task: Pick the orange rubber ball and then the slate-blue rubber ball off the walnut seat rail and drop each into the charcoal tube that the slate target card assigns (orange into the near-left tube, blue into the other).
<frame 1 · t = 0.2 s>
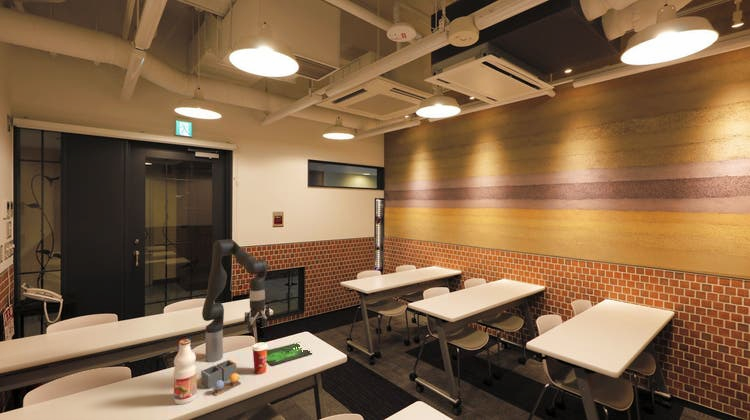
hand: (257, 328, 169), 28 cm above the table, fingers open, 8 cm apart
tube a: (226, 376, 175), on the table
target card: (225, 383, 168), on the table
tube b: (211, 383, 168), on the table
mouse mat: (286, 354, 202), on the table
fruit juice: (185, 399, 155), on the table
blue ball: (219, 385, 160), point 4 cm above the table, touching walnut seat rail
coffee cup: (260, 372, 180), on the table
orange ball: (234, 377, 166), point 4 cm above the table, touching walnut seat rail
walnut seat rail: (226, 388, 163), on the table
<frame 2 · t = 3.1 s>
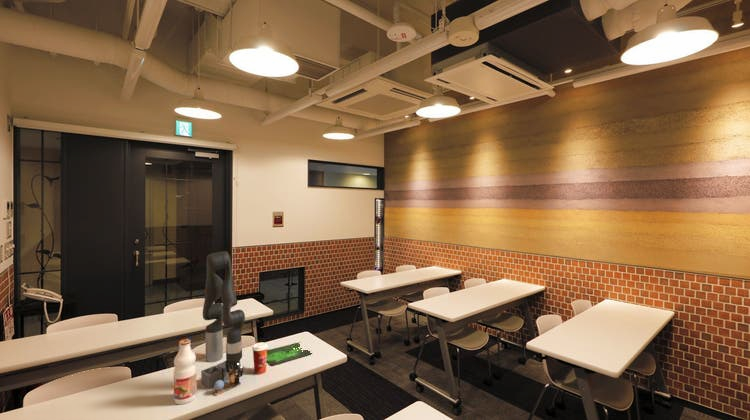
hand: (234, 382, 166), 1 cm above the table, fingers closed on orange ball, 4 cm apart
orange ball: (234, 377, 166), point 4 cm above the table, touching gripper, walnut seat rail
everything else where it was.
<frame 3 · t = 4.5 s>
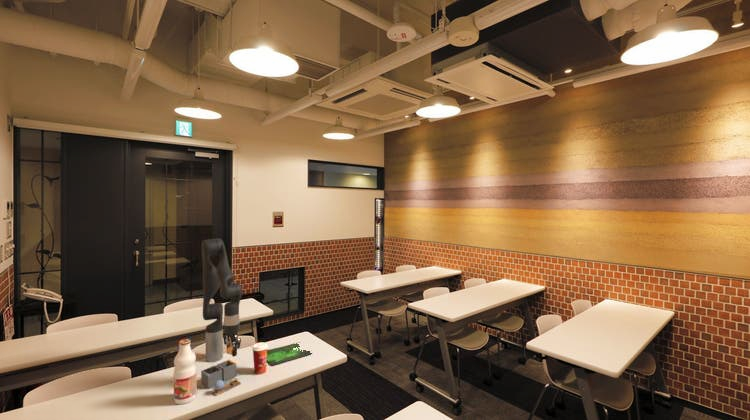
hand: (231, 354, 169), 15 cm above the table, fingers closed on orange ball, 4 cm apart
orange ball: (231, 349, 169), point 17 cm above the table, touching gripper
everything else where it was.
when the fingers open (8 cm above the table, at t = 6.0 s): orange ball drops 8 cm, resting on tube a.
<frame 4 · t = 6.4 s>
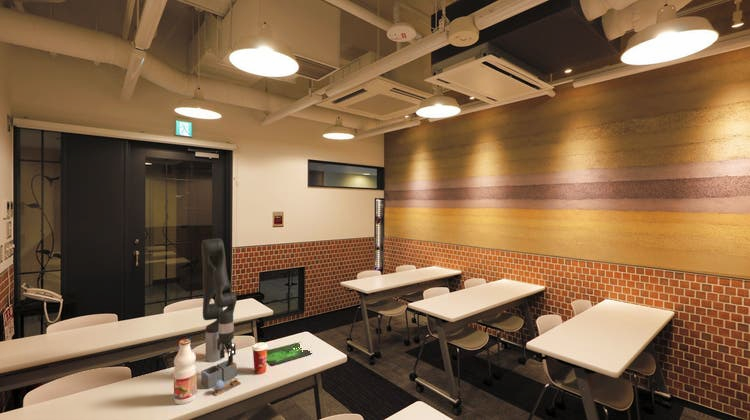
hand: (226, 360, 174), 9 cm above the table, fingers open, 8 cm apart
orange ball: (226, 372, 174), point 3 cm above the table, tilted 6°, touching tube a
everything else where it was.
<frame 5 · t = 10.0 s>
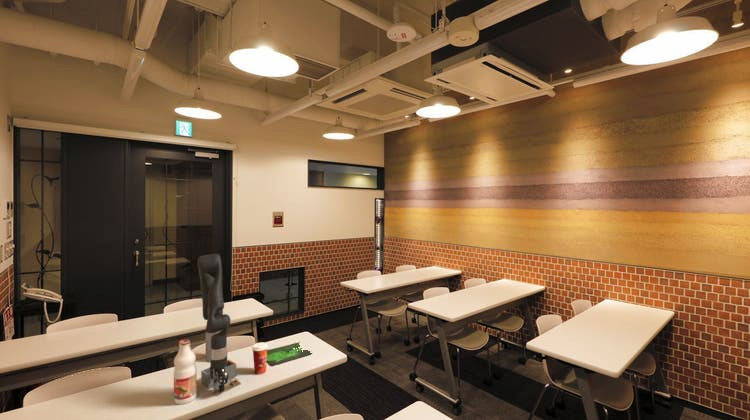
hand: (219, 389, 160), 1 cm above the table, fingers closed on blue ball, 4 cm apart
blue ball: (219, 385, 160), point 4 cm above the table, touching gripper, walnut seat rail
orange ball: (227, 372, 174), point 3 cm above the table, tilted 19°, touching tube a
everything else where it was.
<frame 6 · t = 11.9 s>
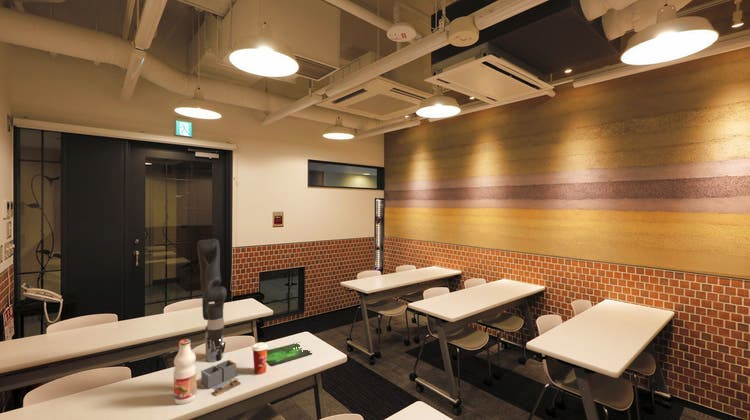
hand: (216, 359, 165), 14 cm above the table, fingers closed on blue ball, 4 cm apart
blue ball: (216, 354, 165), point 17 cm above the table, touching gripper
everything else where it was.
when the fingers open (8 cm above the table, at t = 13.3 s): blue ball drops 8 cm, resting on tube b.
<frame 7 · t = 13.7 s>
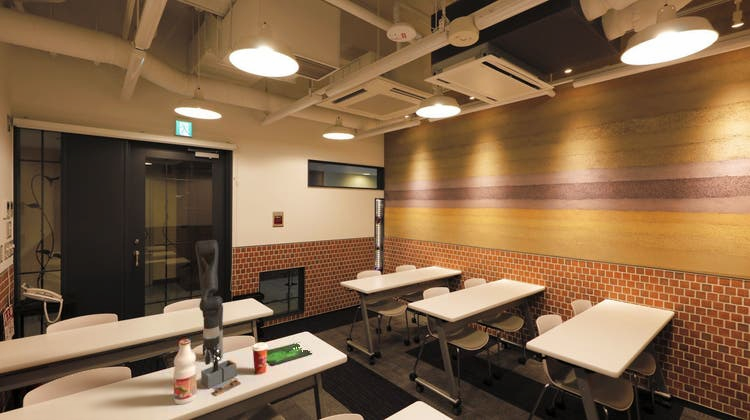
hand: (211, 366, 168), 9 cm above the table, fingers open, 7 cm apart
blue ball: (211, 378, 168), point 3 cm above the table, touching tube b
everything else where it was.
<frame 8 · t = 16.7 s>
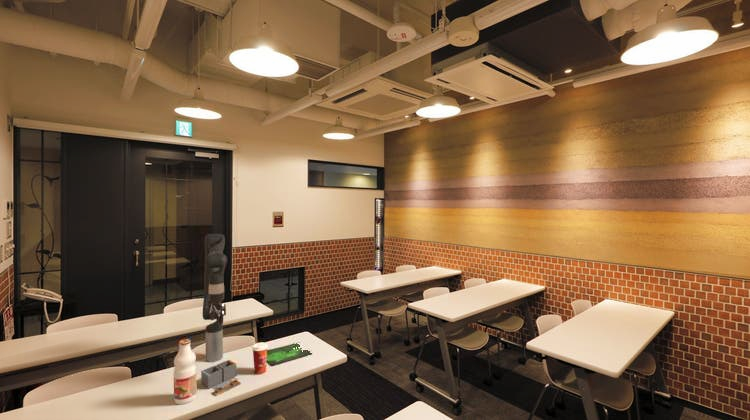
hand: (216, 321, 174), 30 cm above the table, fingers open, 8 cm apart
orange ball: (226, 372, 175), point 3 cm above the table, touching tube a
everything else where it was.
at the end: orange ball 0.0 cm off-centre on the tube a, point 2.6 cm above the tube a's base; blue ball 0.1 cm off-centre on the tube b, point 2.6 cm above the tube b's base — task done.
